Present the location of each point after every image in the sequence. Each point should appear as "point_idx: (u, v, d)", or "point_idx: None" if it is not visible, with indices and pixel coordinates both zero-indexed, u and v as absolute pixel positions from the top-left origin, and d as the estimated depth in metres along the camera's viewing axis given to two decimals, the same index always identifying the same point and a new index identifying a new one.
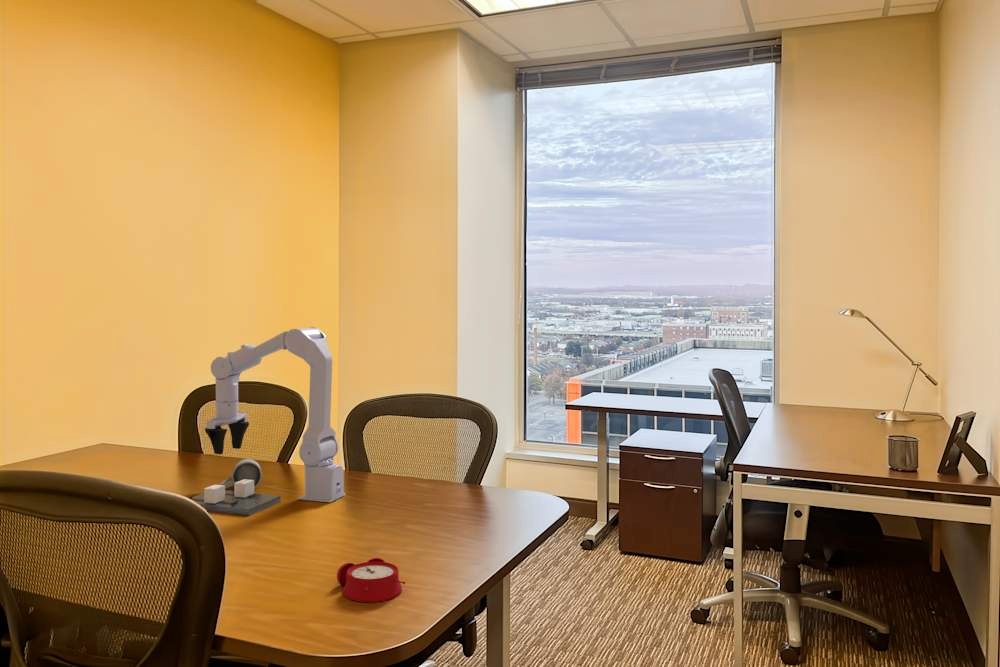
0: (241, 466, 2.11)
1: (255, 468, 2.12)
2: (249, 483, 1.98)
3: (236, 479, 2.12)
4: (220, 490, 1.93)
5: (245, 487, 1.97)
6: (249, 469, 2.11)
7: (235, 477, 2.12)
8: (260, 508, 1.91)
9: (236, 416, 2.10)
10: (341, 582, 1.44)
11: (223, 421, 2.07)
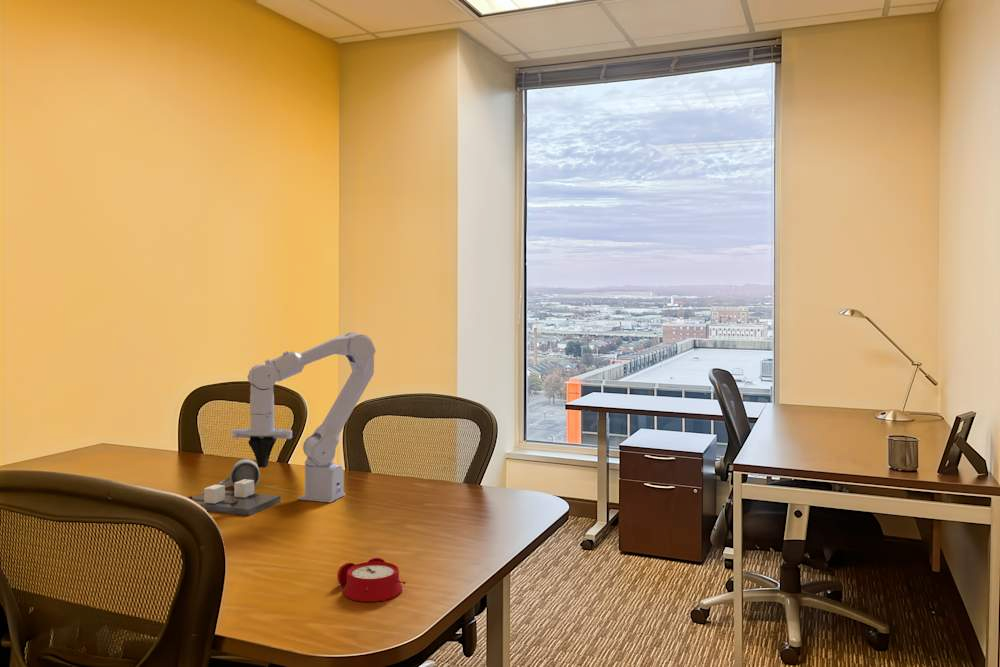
0: (239, 466, 2.11)
1: (253, 468, 2.12)
2: (249, 483, 1.98)
3: (234, 479, 2.12)
4: (220, 490, 1.93)
5: (245, 487, 1.97)
6: (247, 469, 2.11)
7: (233, 477, 2.12)
8: (260, 508, 1.91)
9: (258, 430, 1.93)
10: (341, 582, 1.44)
11: (244, 432, 1.95)
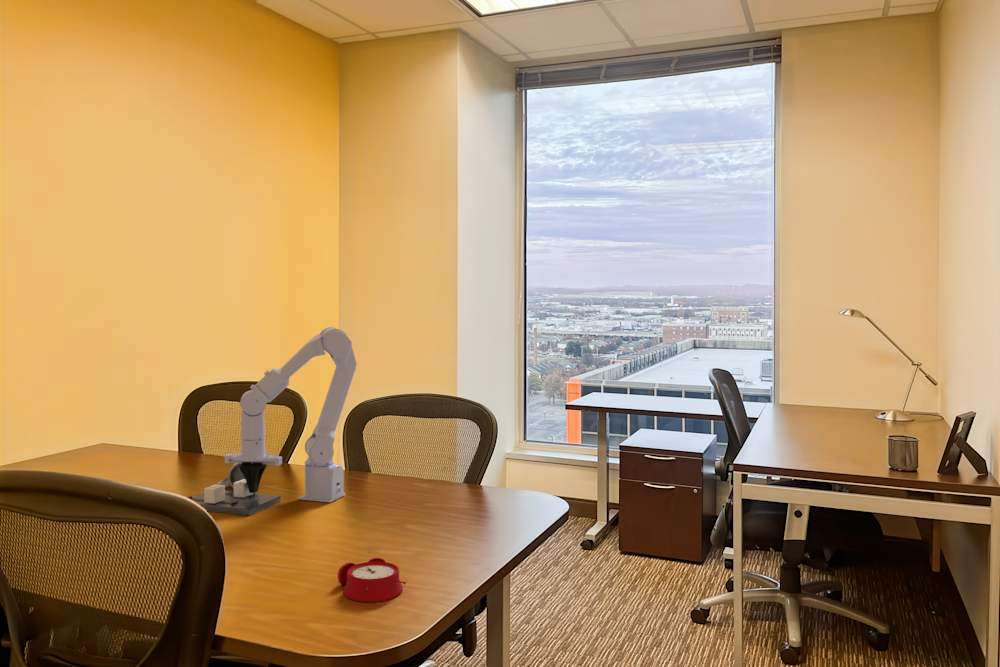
0: (237, 466, 2.11)
1: None
2: None
3: (232, 479, 2.12)
4: (220, 490, 1.93)
5: (244, 487, 1.97)
6: None
7: (231, 477, 2.11)
8: (260, 508, 1.91)
9: (248, 456, 1.95)
10: (342, 582, 1.44)
11: (235, 458, 1.96)
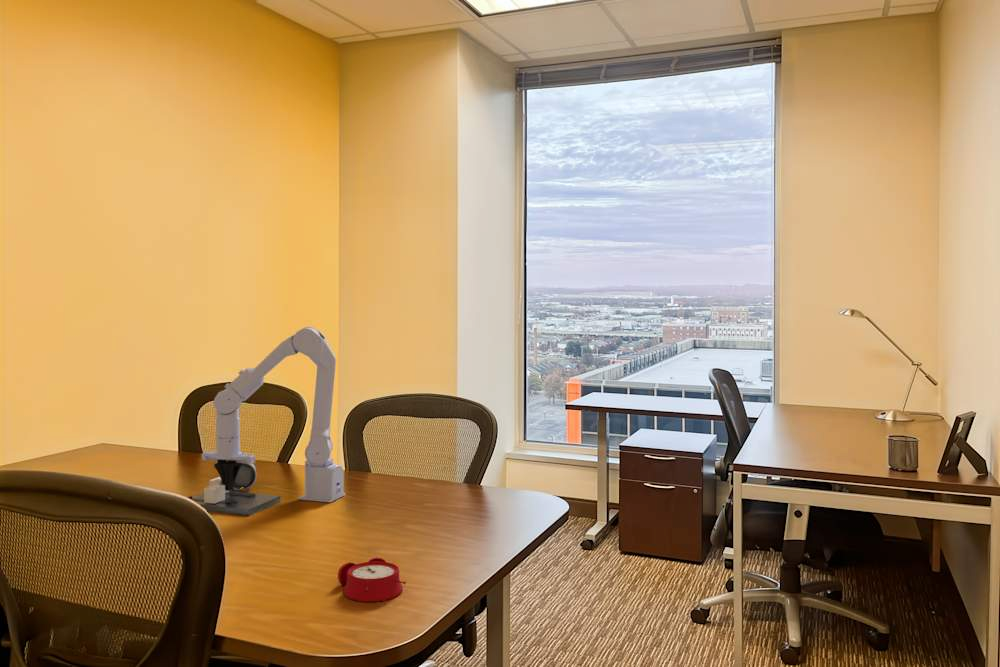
0: None
1: (250, 468, 2.12)
2: None
3: None
4: (220, 490, 1.93)
5: None
6: (243, 469, 2.11)
7: None
8: (260, 508, 1.91)
9: (221, 454, 1.97)
10: (342, 582, 1.44)
11: (210, 455, 1.99)
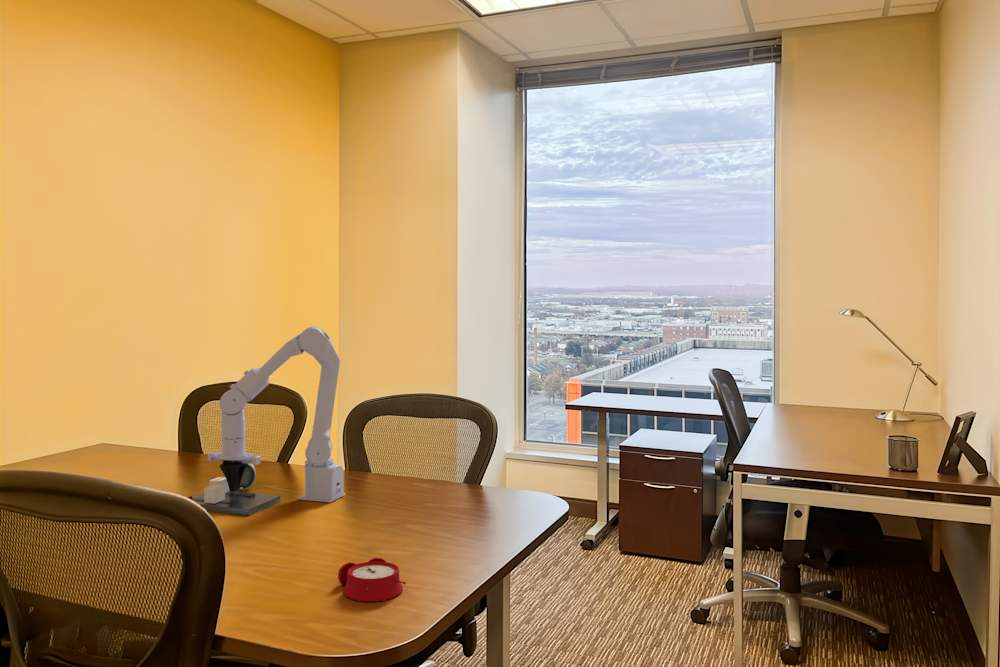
0: None
1: (249, 468, 2.12)
2: (224, 481, 2.01)
3: None
4: (220, 490, 1.93)
5: None
6: None
7: None
8: (260, 508, 1.91)
9: (226, 455, 1.96)
10: (342, 582, 1.44)
11: (216, 456, 1.99)
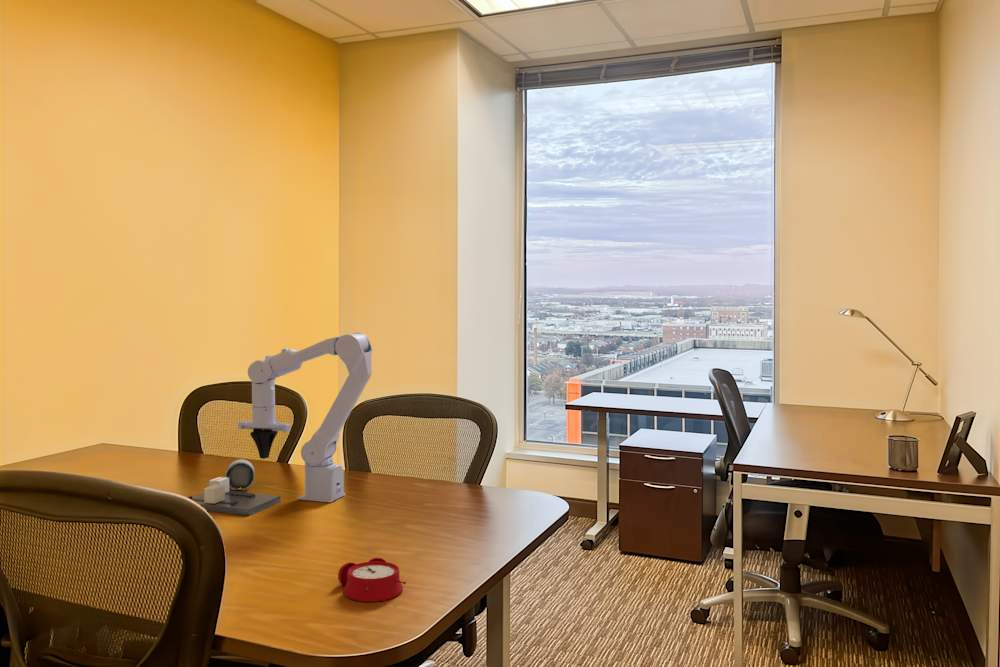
0: (234, 466, 2.10)
1: (248, 468, 2.12)
2: (224, 481, 2.01)
3: (229, 479, 2.11)
4: (220, 490, 1.93)
5: None
6: (242, 469, 2.11)
7: (228, 477, 2.11)
8: (260, 508, 1.91)
9: (257, 423, 2.02)
10: (342, 582, 1.44)
11: (246, 424, 2.04)
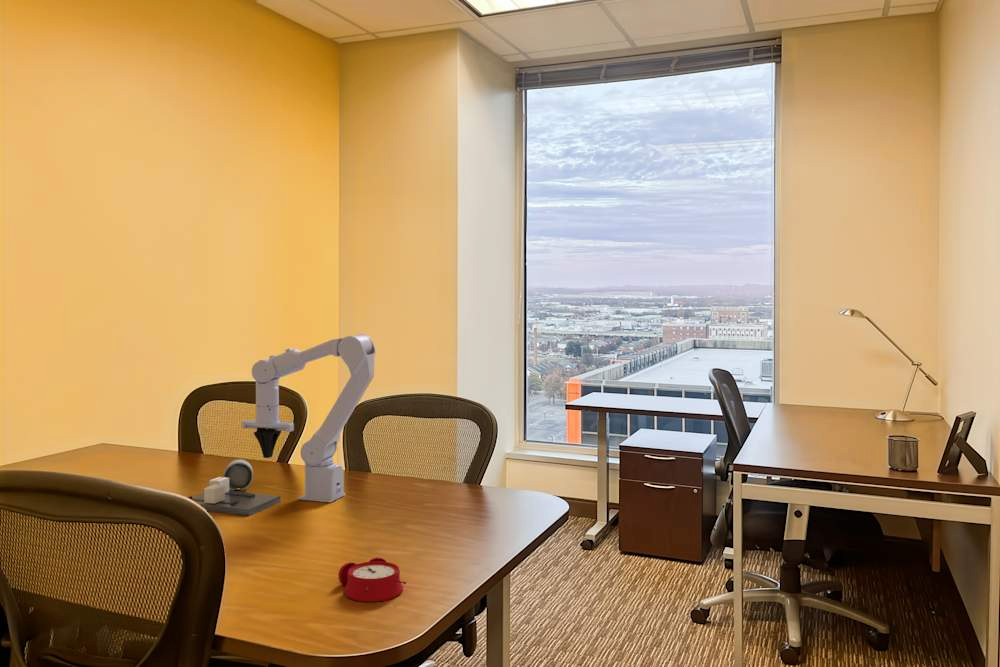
0: (232, 467, 2.10)
1: (246, 469, 2.12)
2: (224, 481, 2.01)
3: None
4: (220, 490, 1.93)
5: None
6: (240, 469, 2.11)
7: None
8: (260, 508, 1.91)
9: (261, 422, 2.02)
10: (342, 582, 1.44)
11: (250, 424, 2.04)
